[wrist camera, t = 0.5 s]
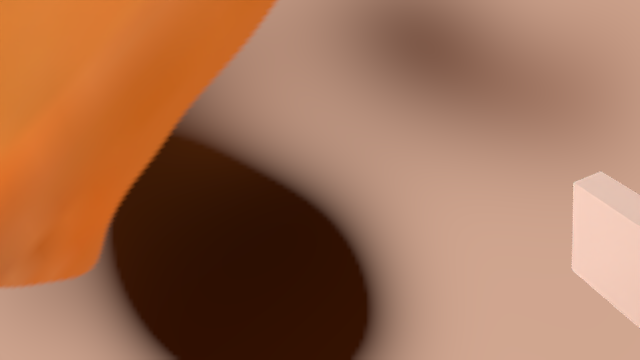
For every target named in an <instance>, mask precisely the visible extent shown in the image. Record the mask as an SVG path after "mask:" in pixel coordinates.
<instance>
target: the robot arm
mask: <svg viewBox="0 0 640 360" xmlns="http://www.w3.org/2000/svg"><path fill="white" fill-rule="evenodd" d="M573 185H574V186H573V229H572V271H573V272H575V273H576V274H577V275H578V276H579V277H581V278H582V279H583V280H584V281H585V282H586V283H588V284H589V285H590V286H591V287H592V288H593V289H595V290H596V291H597V292H598V293H599V294H600V295H601V296H603V297H604V298H605V299H606V300H607V301H608V302H610V303H611V304H612V305H613V306H614V307H615V308H617V309H618V310H619V311H620V312H621V313H622V314H624V315H625V316H626V317H627V318H628V319H629V320H631V321H632V322H633V323H634V324H635V325H636V326H638V327H639V328H640V194H638V193H636V192H635V191H633V190H631V189H630V188H628V187H626V186H625V185H623V184H621V183H620V182H618V181H617V180H615V179H613V178H612V177H610V176H608V175H607V174H605V173H603V172H602V171H600V172H598V173H595V174H593V175H590V176H588V177H585V178H583V179H580V180H578V181H575V182H574V183H573Z"/></svg>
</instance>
